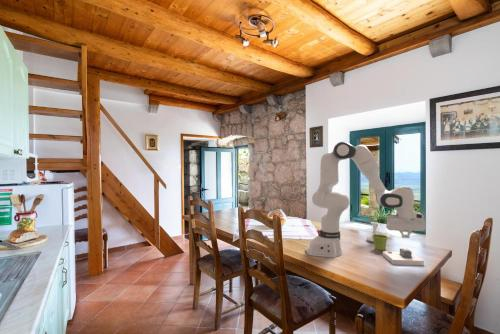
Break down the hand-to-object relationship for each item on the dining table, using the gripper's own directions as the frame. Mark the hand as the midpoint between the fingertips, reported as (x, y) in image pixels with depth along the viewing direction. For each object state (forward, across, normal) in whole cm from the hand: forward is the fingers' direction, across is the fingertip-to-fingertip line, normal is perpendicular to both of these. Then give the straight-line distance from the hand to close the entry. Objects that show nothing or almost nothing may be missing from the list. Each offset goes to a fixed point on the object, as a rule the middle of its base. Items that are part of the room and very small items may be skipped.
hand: (405, 237), depth 143 cm
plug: (+13, 0, 0) cm, 13 cm away
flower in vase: (+13, -5, +36) cm, 39 cm away
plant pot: (+13, -7, +19) cm, 24 cm away
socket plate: (+13, -2, 0) cm, 13 cm away
